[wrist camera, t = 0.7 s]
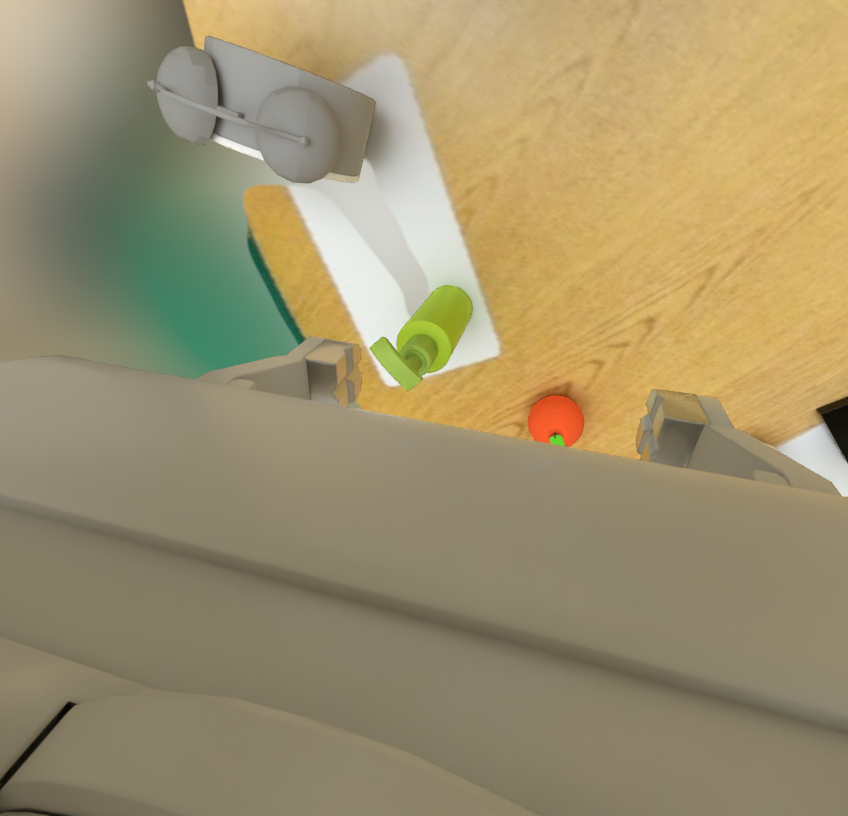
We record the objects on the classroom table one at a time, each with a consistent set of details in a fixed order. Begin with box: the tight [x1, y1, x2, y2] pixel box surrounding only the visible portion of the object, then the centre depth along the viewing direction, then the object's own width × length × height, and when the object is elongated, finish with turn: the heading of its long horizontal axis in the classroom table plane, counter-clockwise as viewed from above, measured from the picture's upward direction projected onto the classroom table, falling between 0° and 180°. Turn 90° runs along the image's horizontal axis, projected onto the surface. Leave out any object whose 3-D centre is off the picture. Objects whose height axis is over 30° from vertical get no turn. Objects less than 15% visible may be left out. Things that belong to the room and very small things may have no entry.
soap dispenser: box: [370, 285, 472, 391], centre depth 51 cm, size 6×7×20 cm
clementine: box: [528, 395, 584, 447], centre depth 60 cm, size 8×7×7 cm
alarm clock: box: [147, 36, 376, 183], centre depth 43 cm, size 16×9×22 cm, turn 72°
